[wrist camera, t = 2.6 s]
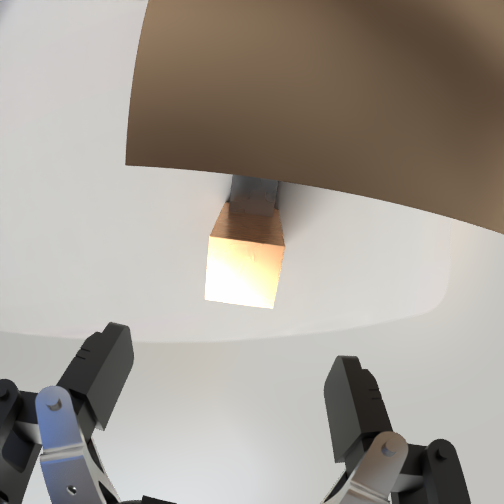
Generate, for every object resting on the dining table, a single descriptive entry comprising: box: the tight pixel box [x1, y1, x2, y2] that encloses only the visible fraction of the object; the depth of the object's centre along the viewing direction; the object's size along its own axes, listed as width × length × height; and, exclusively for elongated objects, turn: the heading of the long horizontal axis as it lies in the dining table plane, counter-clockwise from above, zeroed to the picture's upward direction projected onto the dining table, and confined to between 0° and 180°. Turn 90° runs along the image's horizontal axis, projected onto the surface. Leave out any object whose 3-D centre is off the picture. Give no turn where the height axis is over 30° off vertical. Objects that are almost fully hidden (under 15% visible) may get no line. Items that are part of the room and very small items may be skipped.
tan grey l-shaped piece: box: [205, 175, 285, 308], centre depth 17 cm, size 14×4×7 cm, turn 172°
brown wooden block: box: [125, 0, 504, 234], centre depth 11 cm, size 11×15×14 cm
